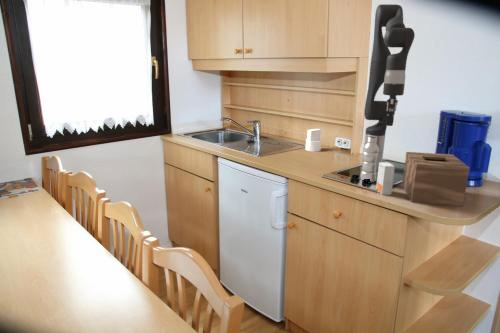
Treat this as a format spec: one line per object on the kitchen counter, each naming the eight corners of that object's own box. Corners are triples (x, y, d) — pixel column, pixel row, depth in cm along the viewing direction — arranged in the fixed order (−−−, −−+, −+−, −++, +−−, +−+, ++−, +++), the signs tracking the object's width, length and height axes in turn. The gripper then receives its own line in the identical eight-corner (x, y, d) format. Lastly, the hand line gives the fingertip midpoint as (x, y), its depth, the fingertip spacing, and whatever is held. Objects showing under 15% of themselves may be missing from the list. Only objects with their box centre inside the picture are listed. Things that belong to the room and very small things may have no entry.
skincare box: (375, 189, 157) (378, 162, 154) (385, 189, 158) (388, 162, 154) (381, 195, 152) (385, 166, 148) (391, 194, 152) (395, 166, 149)
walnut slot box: (401, 185, 163) (406, 151, 159) (446, 189, 160) (452, 154, 156) (411, 202, 145) (416, 164, 140) (462, 206, 141) (469, 167, 137)
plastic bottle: (376, 184, 164) (381, 139, 159) (360, 183, 165) (365, 138, 160) (374, 180, 170) (379, 136, 165) (359, 178, 172) (363, 135, 166)
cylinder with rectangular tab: (313, 152, 219) (315, 131, 216) (302, 149, 226) (303, 129, 223) (323, 150, 225) (325, 130, 222) (312, 147, 232) (313, 127, 228)
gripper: (384, 81, 154) (380, 121, 158) (383, 82, 141) (378, 126, 145) (404, 82, 151) (400, 122, 155) (404, 83, 139) (399, 127, 143)
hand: (389, 124), depth 150 cm, fingers open, 8 cm apart
